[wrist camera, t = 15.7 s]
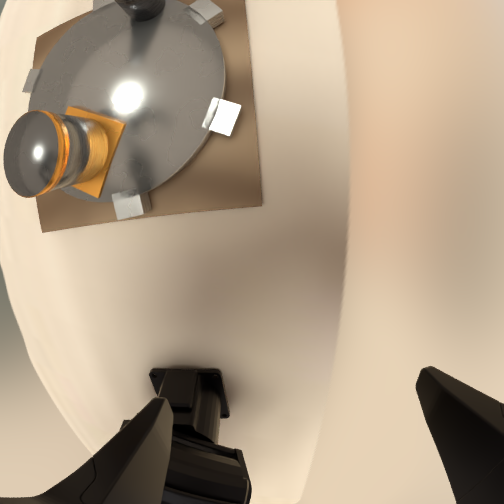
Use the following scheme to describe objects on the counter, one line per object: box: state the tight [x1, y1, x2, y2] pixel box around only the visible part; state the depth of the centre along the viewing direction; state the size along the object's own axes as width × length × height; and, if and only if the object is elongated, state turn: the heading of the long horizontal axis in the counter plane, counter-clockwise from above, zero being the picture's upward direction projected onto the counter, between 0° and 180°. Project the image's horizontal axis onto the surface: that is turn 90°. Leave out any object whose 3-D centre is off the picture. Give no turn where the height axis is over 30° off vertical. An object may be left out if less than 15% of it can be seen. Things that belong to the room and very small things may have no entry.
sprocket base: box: [33, 0, 262, 233], centre depth 15 cm, size 17×17×1 cm
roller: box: [4, 110, 108, 198], centre depth 11 cm, size 4×4×5 cm
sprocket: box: [22, 0, 242, 220], centre depth 12 cm, size 16×15×6 cm
